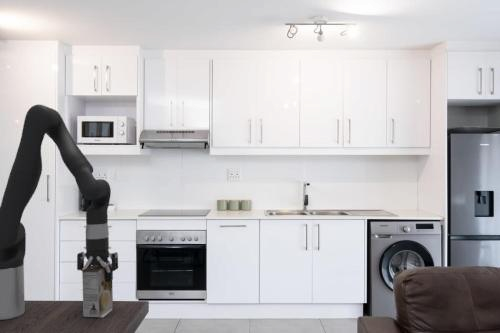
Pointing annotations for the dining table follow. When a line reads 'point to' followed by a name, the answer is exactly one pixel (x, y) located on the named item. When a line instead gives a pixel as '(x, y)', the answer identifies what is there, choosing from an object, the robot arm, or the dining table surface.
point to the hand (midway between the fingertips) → (97, 282)
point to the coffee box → (96, 291)
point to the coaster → (103, 314)
